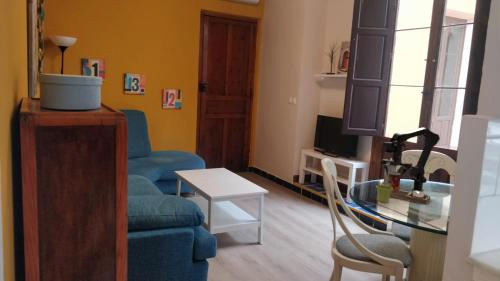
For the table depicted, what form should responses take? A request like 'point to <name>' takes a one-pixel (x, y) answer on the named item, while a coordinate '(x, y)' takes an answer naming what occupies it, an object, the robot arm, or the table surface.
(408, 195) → the rack
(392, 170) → the coffee box
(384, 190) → the plant pot
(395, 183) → the soda can
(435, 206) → the table surface
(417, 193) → the tin
